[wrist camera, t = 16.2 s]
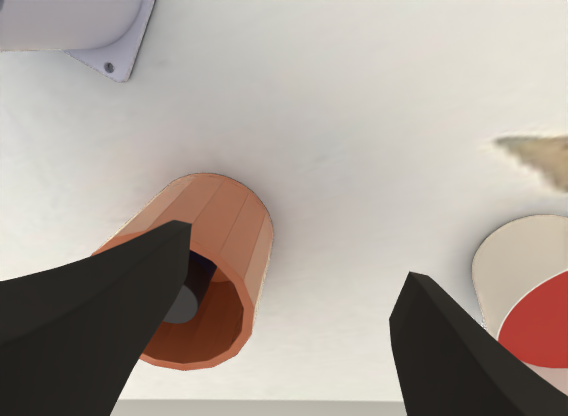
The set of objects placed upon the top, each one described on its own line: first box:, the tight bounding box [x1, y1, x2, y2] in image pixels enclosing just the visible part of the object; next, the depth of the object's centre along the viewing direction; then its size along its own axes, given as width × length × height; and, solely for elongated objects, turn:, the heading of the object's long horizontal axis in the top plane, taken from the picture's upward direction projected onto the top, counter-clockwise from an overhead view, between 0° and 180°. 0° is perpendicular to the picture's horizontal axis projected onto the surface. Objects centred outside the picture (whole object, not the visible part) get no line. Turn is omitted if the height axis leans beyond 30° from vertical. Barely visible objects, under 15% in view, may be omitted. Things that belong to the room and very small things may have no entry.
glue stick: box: [163, 250, 217, 324], centre depth 20 cm, size 3×3×6 cm
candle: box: [472, 214, 568, 396], centre depth 19 cm, size 9×9×6 cm
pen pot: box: [91, 173, 274, 371], centre depth 20 cm, size 8×8×8 cm
